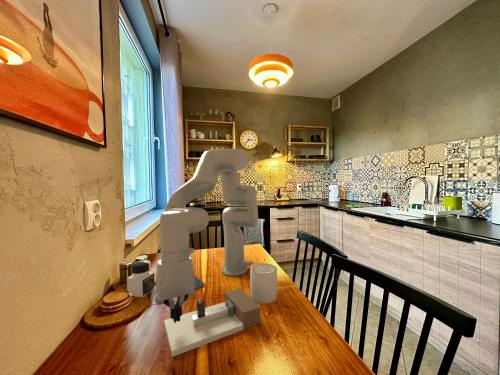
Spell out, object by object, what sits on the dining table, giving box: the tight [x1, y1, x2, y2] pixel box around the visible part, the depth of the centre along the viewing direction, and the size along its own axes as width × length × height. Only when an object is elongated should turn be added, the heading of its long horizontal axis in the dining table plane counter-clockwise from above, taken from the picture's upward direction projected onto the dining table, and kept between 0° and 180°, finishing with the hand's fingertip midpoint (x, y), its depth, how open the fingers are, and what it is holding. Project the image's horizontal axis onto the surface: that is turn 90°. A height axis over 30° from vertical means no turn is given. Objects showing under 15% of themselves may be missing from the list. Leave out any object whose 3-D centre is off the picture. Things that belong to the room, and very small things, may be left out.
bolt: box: [192, 299, 229, 326], centre depth 66 cm, size 12×2×6 cm, turn 119°
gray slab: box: [163, 287, 261, 358], centre depth 66 cm, size 26×14×5 cm, turn 119°
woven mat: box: [194, 275, 206, 291], centre depth 92 cm, size 10×11×2 cm
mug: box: [249, 263, 278, 304], centre depth 84 cm, size 14×10×11 cm
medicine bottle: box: [126, 260, 156, 298], centre depth 86 cm, size 7×7×12 cm
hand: (176, 319), depth 61 cm, fingers closed
